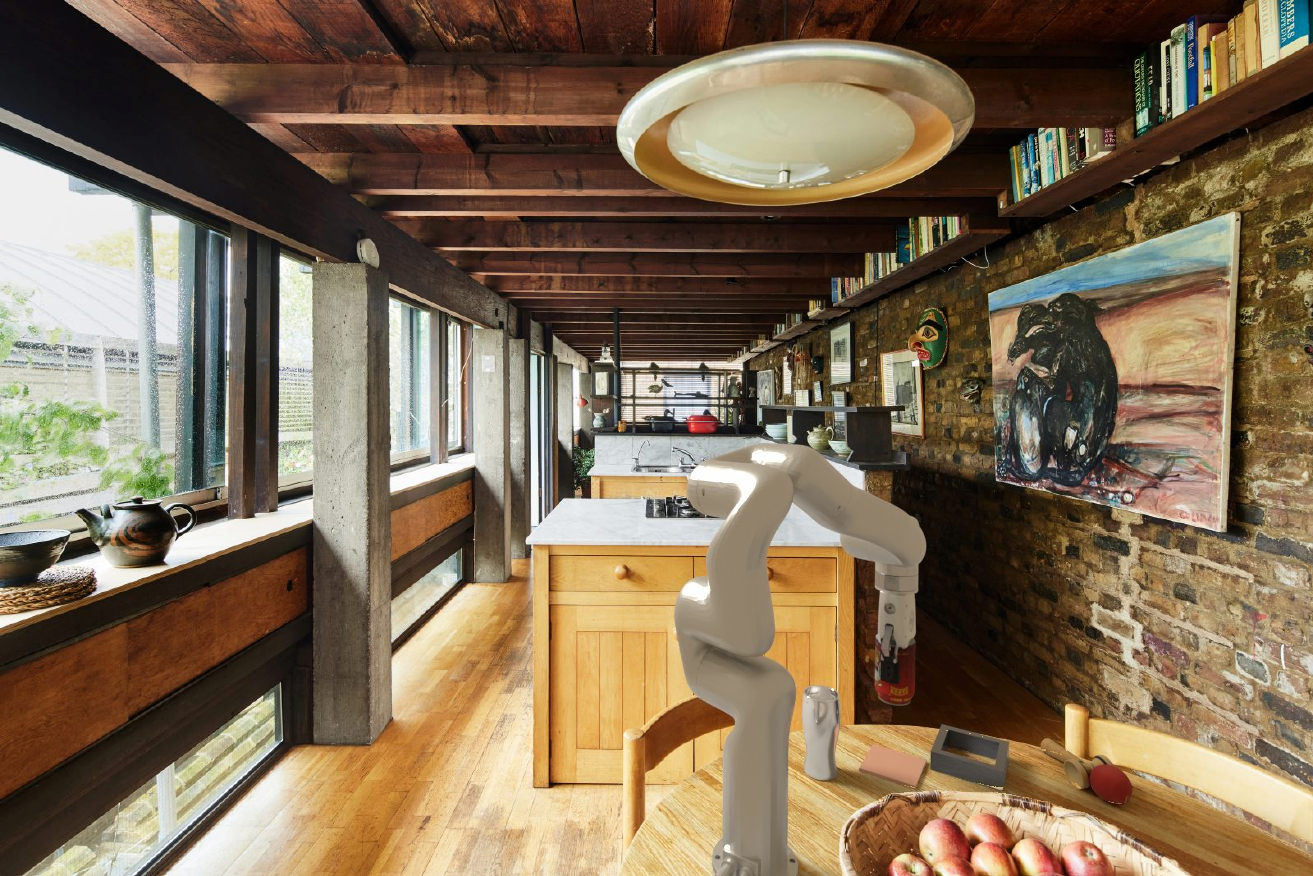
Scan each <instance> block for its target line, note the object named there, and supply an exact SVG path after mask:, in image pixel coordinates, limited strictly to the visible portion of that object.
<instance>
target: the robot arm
mask: <svg viewBox="0 0 1313 876" xmlns="http://www.w3.org/2000/svg"><path fill="white" fill-rule="evenodd" d="M686 493H687V498H688V500H689V502H690V504H691V506H692V507H693V508H694V509H695V510H696V511H697V512H698V513H701V514H703V515H704V516H709V517H713V518H720V519H724V521H723V523H722V524H721V526H720V527H719V529H718V530H717V532H716V533H715V535H714V536H713V538H712V540H711V542H710V543H709V546H708V548H707V550H706V556H705V569H706V575H704V576H703V575H700V576H696V577H694V578H691V579H690V580H688V581H687V582H686V583H684V585H683V586H682V588H681V589H680V591H678V594H677V598H676V599H675V600H676V601H675V605H674V613H673V614H674V615H673V617H674V627H675V633H676V638H677V644H678V647H679V648H678V649H679V652H680V653H679V654H680V659H681V663H682V669H683V674H684V678H685V681H686V683H687V686H688V688H689V689H690V691H691V692H692V694H693V695H695V696H696V697H697V698H698V699H700V700H702V701H703V702H705V703H707V704H708V705H711V706H712V707H714V708H715V709H716V708H717V709H718V710H720V711H722V712H724V713H726V714H727V715H729V716H731V717H732V718H733V720H734V727H733V728H732V730H730V732H729V733H728V734H727V736H726V738H725V740H724V743H723V747H722V838H721V839H719V841H718V842H717V843H716V844H715V846H714V847H713V849H712V853H711V867H712V869H713V872H714V876H799V864H798V863H799V862H798V859H797V856H796V854H795V852H794V851H793V850H792V848H791V847H790V846H789V845H788V838H789V835H788V834H789V833H788V831H789V828H788V827H789V821H788V820H789V819H788V818H789V745H790V734H791V733H790V732H791V727H792V726H791V725H792V719H793V715H794V712H795V707H796V701H797V686H796V682H795V679H794V676H793V675H792V674H791V672H790V671H789V670H788V668H786V667H785V666H784V665H782V664H781V663H779V662H778V661H776V660H774V659H773V658H770V657H767V656H765V654H767V653H768V652H769V651H770V650H771V649H772V647H773V645H774V642H775V639H776V638H775V637H776V621H775V615H774V614H775V612H774V606H773V600H772V593H771V588H770V587H771V586H770V581H769V574H768V573H769V572H768V564H767V563H768V561H767V560H768V559H767V558H768V553H769V548H770V546H771V543H772V541H773V539H774V537H775V535H776V533H777V531H778V529H779V528H780V526H781V525H782V523H783V522H784V520H785V519H786V517H787V515H788V513H789V512H790V510H791V507H792V504H793V505H795V506H796V507H798V508H799V509H800V510H801V511H803V512H804V513H805V514H806V515H808V516H809V518H811V520H813V521H814V522H816V523H817V524H818V525H820V526H821V527H822V528H825V529H827V530H830V531H832V532H834V533H838V534H839V535H840V536H839V542H840V545H841V548H842V549H843V551H844V552H845V553H846V554H848V555H849V556H851V557H854V558H856V559H860V560H865V561H870V562H873V563H874V565H875V566H874V588H875V589H876V590H878V591H879V598H878V599H879V601H878V618H877V620H878V621H877V634H878V641H879V643H880V644H882V645H881V649H882V651H881V670H880V679H881V681H884V682H889V683H893V684H898V683H899V667H900V662H898V654H899V647H902V649H905V648H907V647H908V645H909V643H910V641H911V639H912V638H914V639H915V636H916V633H917V630H916V629H917V628H916V627H917V626H916V621H917V620H916V598H915V597H916V596H915V594H917V593H918V592H919V564H920V563H921V562H922V561H923V559H924V557H925V555H926V552H927V541H926V537H925V535H924V532H923V530H922V528H921V527H920V524H919V521H918V519H917V518H916V517H914V516H912V515H909V514H908V513H907V512H906V511H904V510H903V509H901V508H900V507H898V506H896V505H895V504H893V503H890V502H889V501H886V500H885V499H882V498H880V497H878V496H876V495H874V494H872V493H870V492H868V491H866V490H864V489H861V488H859V487H856V486H855V485H854V484H852V483H851V482H850V481H849V480H848V479H847V478H846V477H845V476H844V475H843V474H841V472H840V471H839V470H838V469H837V468H835V467H834V466H833V464H831V463H830V462H829V460H827V459H826V458H825V457H824V456H823V455H822V454H821V453H820V451H817V450H816V449H814V448H812V447H810V446H807V445H803V444H796V443H795V444H791V443H790V444H789V443H776V442H775V443H772V442H761V443H754V444H751V445H748V446H743V447H741V448H739V449H738V448H737V449H735V450H732V451H729V452H727V453H723V454H719V455H717V456H714V457H710V458H708V459H706V460H703V461H702V462H700V463H699V464H698V465H696V466H695V467H694V468H693V470H692V471H691V473H690V474H689V477H688V480H687V484H686ZM881 638H882V639H881ZM891 641H895V642H896V645H895V644H891ZM891 648H895V651H894V653H893V651H891Z"/></svg>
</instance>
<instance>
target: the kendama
mask: <svg viewBox="0 0 1313 876" xmlns="http://www.w3.org/2000/svg"><path fill="white" fill-rule="evenodd" d="M1041 749H1046V751H1042V753H1044V752H1046V755H1048V756H1050V757H1052V758H1054V759H1056V760H1057V761H1060V762H1062V763H1063V770H1064V774H1065V776H1066V777H1067V779H1068V781H1069V780H1071V782H1073V783H1077V784H1078V785H1079V786H1080V787H1081V788H1082V789H1081V790H1085V789H1084V788H1087V789H1089V787H1090V786H1091V788H1092V791H1093V792H1094V793H1095V794H1096V795H1097V796H1098V797H1099V798H1100V797H1101V798H1103V799H1104V800H1106V801H1110V802H1114V803H1124V804H1125V803H1127V802H1128V801H1129V800H1130V799H1131V797H1132V794H1133V784H1132V782H1131V779H1130V778H1129V777H1128V776H1127V774H1126V773H1125V772H1124V771H1123V770H1121V769H1120V768H1118V767H1117V766H1115V765H1114V763H1113V762H1112V761H1111V759H1110V758H1108V757H1107V756H1106V755H1104V754H1096V755H1094V756H1093V758H1092V760H1091V761H1090V762H1087V763H1086V762H1084V761H1083V760H1082V759H1081V758H1079V756H1076V755H1075V754H1074V753H1072V752H1070V750H1068V749H1066V748H1065V747H1063V746H1061V745H1060V744H1059V743H1057V742H1055V740H1053V739H1051V738H1049V737H1046V738H1044V739H1043V740H1041V742H1040V750H1041ZM1066 750H1067V751H1066ZM1050 751H1054V752H1057V753H1058V754H1057V753H1053V752H1050ZM1060 754H1062V755H1060ZM1071 782H1070V783H1071ZM1101 798H1100V799H1101ZM1103 799H1102V800H1103ZM1104 800H1103V801H1104ZM1106 801H1105V802H1106Z"/></svg>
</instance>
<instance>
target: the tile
mask: <svg viewBox="0 0 1313 876" xmlns="http://www.w3.org/2000/svg"><path fill="white" fill-rule="evenodd" d="M927 762H928V760H927V759H926V758H923V757H919V756H916V755H913V754H910V753H905V752H902V751H899V750H894V749H892V748H889V747H885V746H881V745H878V744H874V743H872V745H871V747H870V748H869V750H868V752H867V754H866V755H865V757H864V759H863V760H862V762H861V764H860V766H859V768H858V772H861V773H863V774H866V775H870V776H873V777H877V778H878V779H883V780H886V781H888V782H891V783H894V784H897V783H898V785H900V784H902V785H901V786H903V785H906V786H905V787H907V786H912V787H916V786H917V787H918V785H917V783H918V782H920V780H921V778H922V775H923V773H924V771H925V768H926V765H927ZM918 784H919V783H918Z"/></svg>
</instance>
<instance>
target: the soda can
mask: <svg viewBox="0 0 1313 876" xmlns="http://www.w3.org/2000/svg"><path fill="white" fill-rule="evenodd" d="M874 638H875V639H874V640H875V645H874V646H875V647H874V648H875V649H874V653H875V654H874V688H875V691H876V693H877V695H878V697H877V698H878V699H879V700H880V701H882V702H883V703H885V704H888V705H892V706H906V705H909V704H910V703H911V699H912V698H913V697H914V695H915V691H916V689H915V687H916V649H917V648H916V645H917V641H916V640H915V637H914V638H912V639H911V641H910V643H909V645H908V647H907V648H905V649H902V647H899V654H898V662H900V667H899V683H898V684H893V683H889V682H884V681H881V679H880V670H881V651H882V649H881V645H882V644H880V643H879V641H878V633H877V634H875V637H874ZM881 639H882V638H881ZM891 644H895V645H896V642H895V641H891ZM891 651H893V653H894V651H895V648H891Z"/></svg>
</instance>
